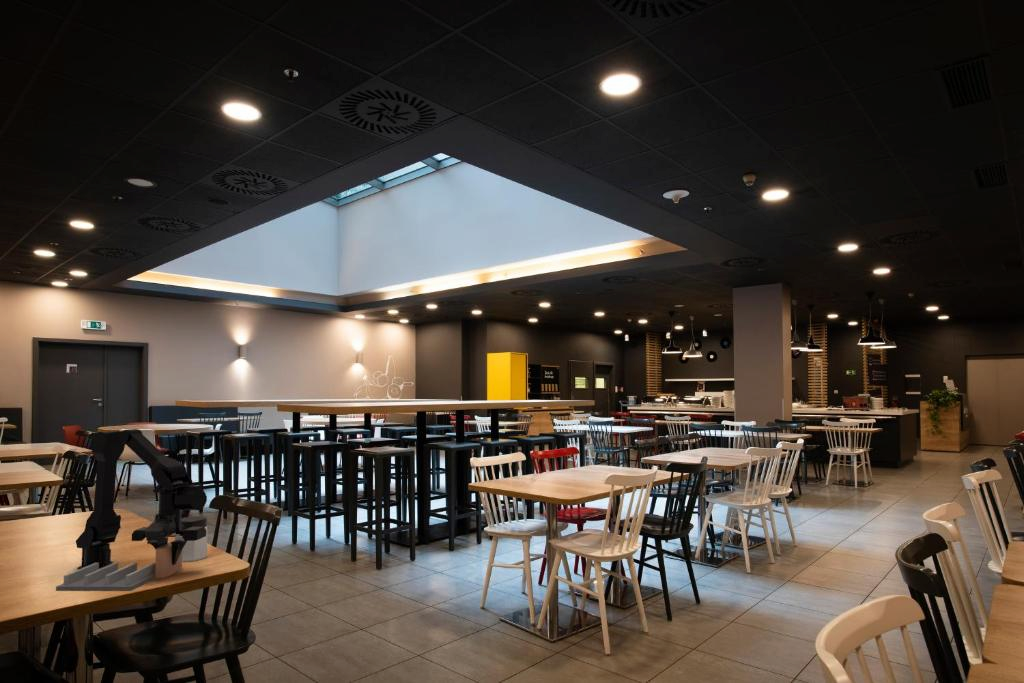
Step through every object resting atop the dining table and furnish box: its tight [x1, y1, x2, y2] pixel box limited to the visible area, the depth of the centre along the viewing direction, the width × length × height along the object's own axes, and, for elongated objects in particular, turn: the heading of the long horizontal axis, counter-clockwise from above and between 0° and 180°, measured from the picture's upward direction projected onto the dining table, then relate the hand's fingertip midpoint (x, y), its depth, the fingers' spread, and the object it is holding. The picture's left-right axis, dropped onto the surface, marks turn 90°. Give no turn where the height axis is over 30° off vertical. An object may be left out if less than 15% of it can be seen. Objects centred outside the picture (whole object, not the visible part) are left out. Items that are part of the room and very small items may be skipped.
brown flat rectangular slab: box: [155, 541, 183, 579], centre depth 179 cm, size 2×9×8 cm, turn 179°
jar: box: [181, 515, 208, 563], centre depth 195 cm, size 9×8×12 cm
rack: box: [55, 562, 156, 592], centre depth 171 cm, size 20×14×4 cm
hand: (168, 564), depth 179 cm, fingers open, 3 cm apart
